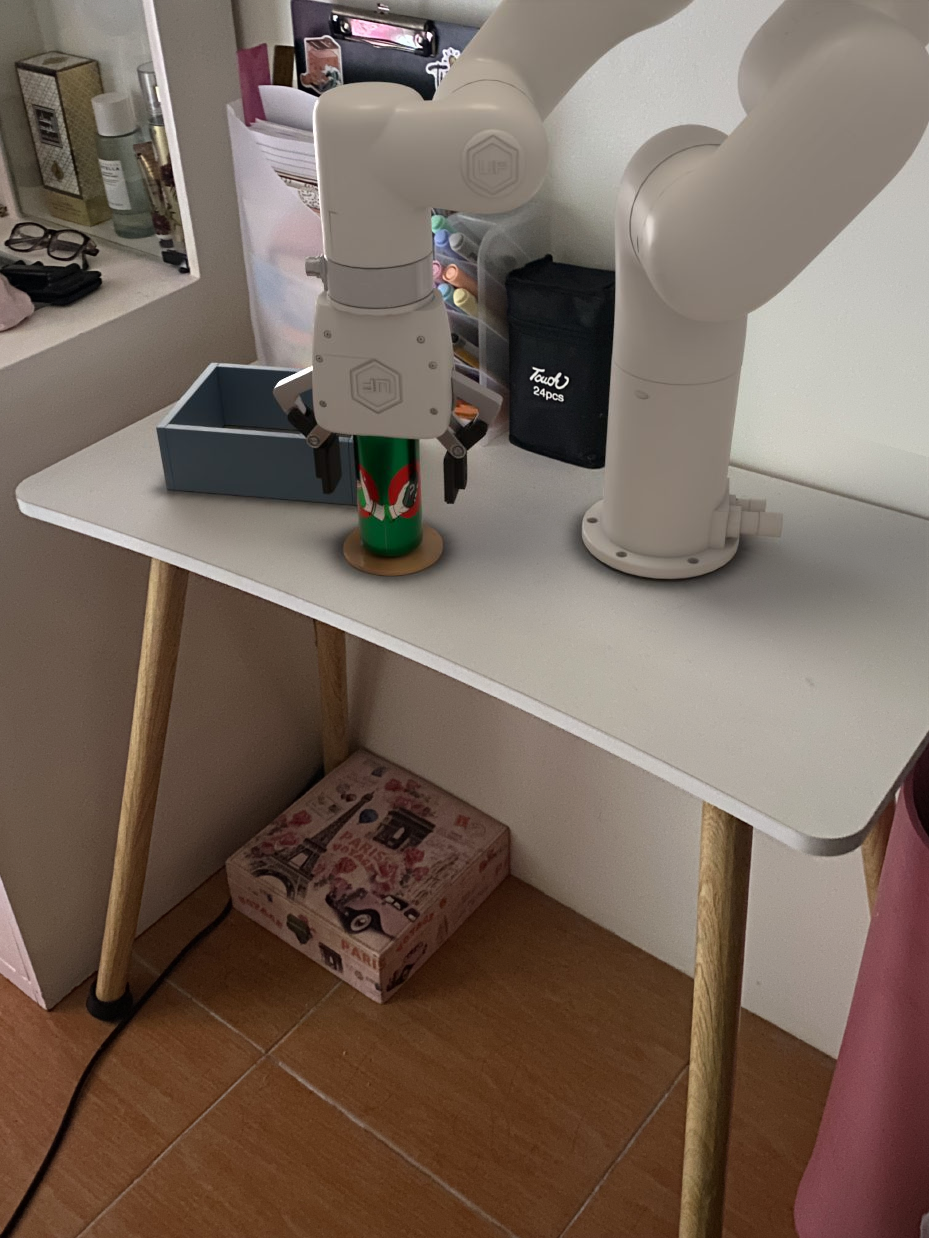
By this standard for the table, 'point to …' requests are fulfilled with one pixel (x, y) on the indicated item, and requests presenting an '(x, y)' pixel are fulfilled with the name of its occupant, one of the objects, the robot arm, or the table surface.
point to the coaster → (394, 566)
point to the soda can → (388, 494)
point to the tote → (244, 440)
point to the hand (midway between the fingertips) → (392, 490)
